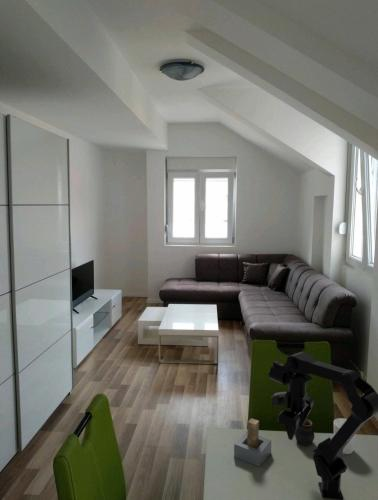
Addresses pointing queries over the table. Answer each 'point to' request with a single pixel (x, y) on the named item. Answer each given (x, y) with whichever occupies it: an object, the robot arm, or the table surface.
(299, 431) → the mate gourd
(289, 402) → the robot arm
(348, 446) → the white cup
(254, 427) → the tall wooden pillar block
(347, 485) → the table surface
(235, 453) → the grey square socket holder
